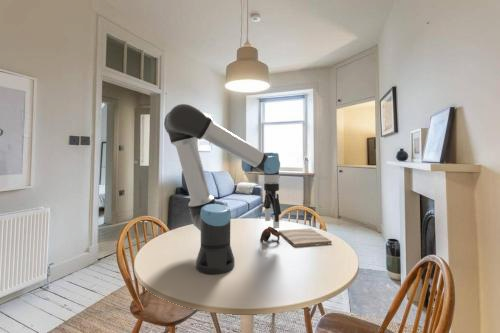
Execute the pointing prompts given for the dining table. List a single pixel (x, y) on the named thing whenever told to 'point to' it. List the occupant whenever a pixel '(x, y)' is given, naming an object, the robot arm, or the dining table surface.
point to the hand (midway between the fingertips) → (271, 224)
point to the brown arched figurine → (269, 234)
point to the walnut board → (303, 237)
